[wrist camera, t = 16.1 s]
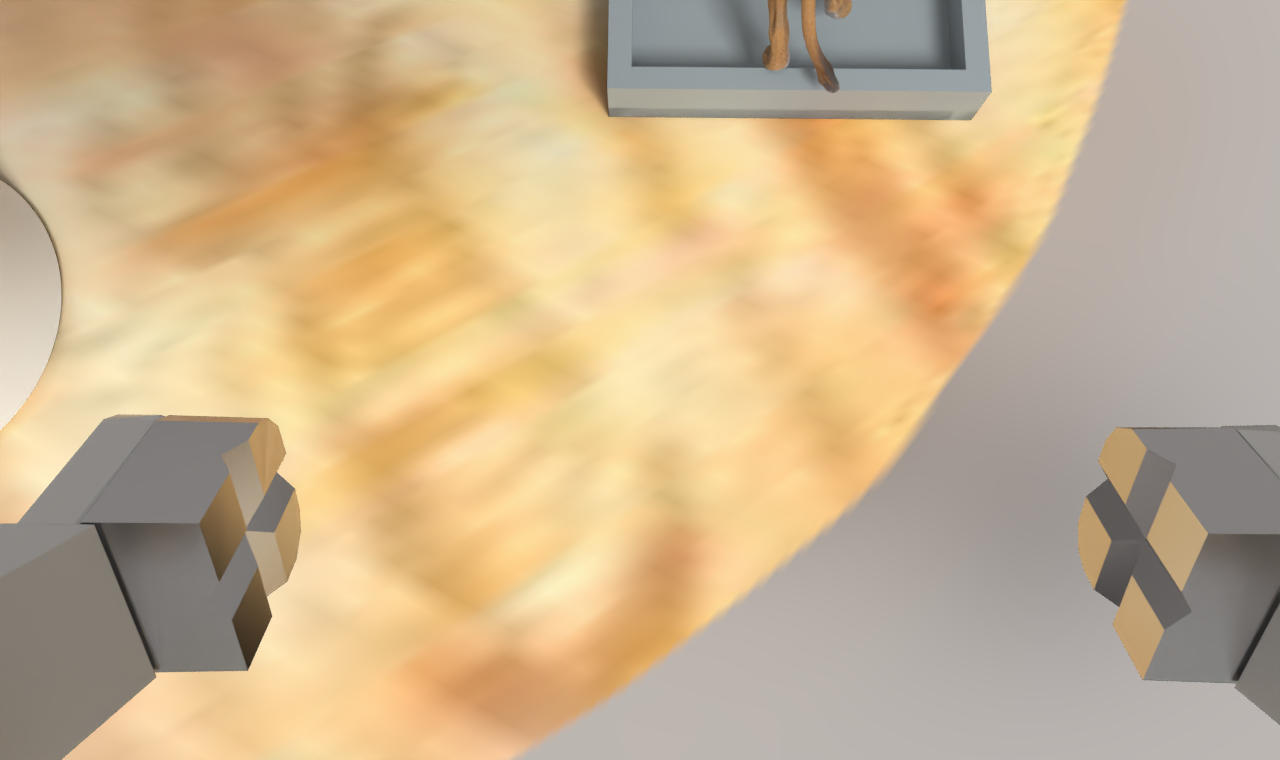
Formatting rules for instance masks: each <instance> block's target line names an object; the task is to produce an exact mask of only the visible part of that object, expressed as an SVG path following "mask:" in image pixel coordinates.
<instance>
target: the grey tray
mask: <svg viewBox="0 0 1280 760" xmlns="http://www.w3.org/2000/svg"><path fill="white" fill-rule="evenodd" d="M851 1H852V8H851V11H850V13H849V14H848V16H846V17H845V18H843V19H833V18H831V17H829V16H827V15H826V14H825V11H824V0H816V6H815V20H816V33H817V39H818V42H819V45H820V48H821V50H822V53H823V54H824V56H825V57H826V59H827V60H828V61H829V62H830V64H831V65H832V67H833V70H834V74H835V76H836V78H837V80H838V82H839V86H840V89H839V91H838V92H836V93H830V92H828V91H826V89H825V88H824V87H823V86H822V85H820V84H819V82H818V76H817V72H816V69H815V66H814V64H813V62H812V60H811V58H810V56H809V53H808V51H807V48H806V44H805V40H804V37H803V31H802V18H801V0H788V1H787V19H788V22H789V33H790V36H789V45H788V49H789V53H790V60H789V64H788V66H787V67H786V68H784V69H782V70H776V71H772V70H768V69H766V68H765V66H764V64H763V60H762V55H763V52H764V51H765V49H766V48H767V46H769V45H770V40H769V34H768V33H769V10H768V1H767V0H609V18H608V73H607V93H608V108H609V117H696V118H802V119H908V120H971V119H972V118H973V117H974V115H975V114H976V113H977V111H978V110H979V109H980V107H981V106H982V104H983V103H984V102H985V100H986V99H987V98H988V96H989V95H990V93H991V92H992V91H991V77H990V62H989V48H988V34H987V20H986V6H985V0H851Z"/></svg>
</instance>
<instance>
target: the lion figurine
mask: <svg viewBox="0 0 1280 760" xmlns="http://www.w3.org/2000/svg"><path fill="white" fill-rule="evenodd" d="M767 1H768V10H769V33H768V34H769V40H770V45H769V46H767V48H766V49H765V51H764V52H763V55H762V60H763V64H764V66H765V68H766V69H768V70H772V71H776V70H782V69H784V68H786V67H787V66H788V64H789V60H790V53H789V49H788V45H789V36H790V33H789V22H788V19H787V1H788V0H767ZM815 6H816V0H801V18H802V31H803V37H804V40H805V44H806V48H807V51H808V53H809V56H810V58H811V60H812V62H813V64H814V66H815V69H816V72H817V76H818V82H819V84H820V85H822V86H823V87H824V88H825V89H826V91H828V92H830V93H836V92H838V91H839V89H840V86H839V82H838V80H837V78H836V76H835V74H834V70H833V67H832V65H831V64H830V62H829V61H828V60H827V59H826V57H825V56H824V54H823V53H822V50H821V48H820V45H819V42H818V39H817V33H816V20H815ZM851 8H852V1H851V0H824V11H825V14H826V15H827V16H829V17H831V18H833V19H843V18H845V17H846V16H848V14H849V13H850V11H851Z"/></svg>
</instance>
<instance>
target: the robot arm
mask: <svg viewBox="0 0 1280 760" xmlns="http://www.w3.org/2000/svg"><path fill="white" fill-rule="evenodd" d="M60 312H61V279H60V271H59V266H58V261H57V257H56V254H55V251H54V247H53V245H52V242H51V240H50V237H49V235H48V233H47V231H46V229H45V227H44V225H43V224H42V222H41V220H40V219H39V217H38V216H37V214H36V213H35V212H34V210H33V209H32V208H31V207H30V205H29V204H28V203H27V202H26V201H25V200H24V199H23V198H22V197H21V196H20V195H19V194H18V193H17V192H16V191H15V190H14V189H12V188H11V187H10V186H9V185H7V184H6V183H4V182H3V181H2V180H0V430H1V429H2V428H3V427H4V426H5V425H6V424H7V423H8V422H9V421H10V420H11V419H12V417H13V416H14V415H15V414H16V413H17V412H18V410H19V409H20V408H21V407H22V405H23V404H24V403H25V401H26V400H27V398H28V397H29V395H30V394H31V392H32V391H33V389H34V388H35V386H36V384H37V382H38V381H39V379H40V377H41V375H42V373H43V371H44V369H45V367H46V365H47V362H48V360H49V357H50V355H51V352H52V349H53V346H54V343H55V339H56V335H57V331H58V326H59V320H60ZM285 454H286V451H285V448H284V444H283V441H282V438H281V434H280V431H279V427H278V426H277V425H276V424H275V423H274V422H272V421H271V420H270V419H268V418H243V417H210V416H178V415H169V416H162V415H115V416H112V417H109V418H106V419H104V420H103V421H102V422H101V423H100V424H99V425H98V427H97V428H96V429H95V430H94V431H93V433H92V434H91V435H90V436H89V437H88V439H87V440H86V441H85V442H84V443H83V445H82V446H81V447H80V448H79V449H78V451H77V452H76V453H75V454H74V455H73V457H72V458H71V459H70V460H69V462H68V463H67V464H66V465H65V466H64V468H63V469H62V470H61V471H60V472H59V474H58V475H57V476H56V477H55V478H54V480H53V481H52V482H51V483H50V484H49V486H48V487H47V488H46V489H45V490H44V492H43V493H42V494H41V495H40V497H39V498H38V499H37V500H36V501H35V503H34V504H33V505H32V506H31V507H30V509H29V510H28V511H27V512H26V513H25V515H24V516H23V517H22V518H21V519H20V521H19V522H18V523H17V524H0V760H61V759H63V758H64V757H65V756H66V755H67V754H68V753H69V752H71V751H72V750H73V749H74V748H75V747H76V746H78V745H79V744H80V743H81V742H82V741H83V740H84V739H86V738H87V737H88V736H89V735H90V734H91V733H93V732H94V731H95V730H96V729H97V728H98V727H99V726H101V725H102V724H103V723H104V722H105V721H106V720H107V719H109V718H110V717H111V716H112V715H113V714H114V713H116V712H117V711H118V710H119V709H120V708H121V707H122V706H124V705H125V704H126V703H127V702H128V701H129V700H131V699H132V698H133V697H134V696H135V695H136V694H137V693H139V692H140V691H141V690H142V689H143V688H144V687H146V686H147V685H148V684H149V683H150V682H151V681H152V680H154V679H155V678H156V674H155V672H202V671H248V669H249V667H250V665H251V663H252V660H253V658H254V656H255V654H256V651H257V649H258V647H259V645H260V642H261V640H262V638H263V636H264V633H265V631H266V629H267V627H268V624H269V622H270V620H271V618H272V614H271V610H270V607H269V603H268V600H267V596H268V595H269V594H271V593H272V592H273V591H275V590H276V589H277V588H279V587H280V586H282V585H283V584H284V583H286V582H287V581H288V578H289V576H290V573H291V571H292V569H293V566H294V564H295V561H296V558H297V552H298V546H299V539H300V533H301V525H300V508H299V504H298V500H297V495H296V491H295V488H294V487H292V486H291V485H290V484H289V483H288V482H287V481H286V480H285V479H284V478H282V477H281V476H280V475H279V474H278V473H277V470H278V468H279V466H280V464H281V462H282V460H283V458H284V456H285ZM1098 461H1099V463H1100V465H1101V467H1102V469H1103V471H1104V473H1105V475H1106V476H1107V478H1108V479H1107V480H1106V481H1105V482H1103V483H1102V484H1101V485H1100V486H1098V487H1097V488H1096V489H1095V490H1093V491H1092V492H1091V493H1090V494H1088V495H1087V496H1086V498H1085V502H1084V505H1083V509H1082V512H1081V515H1080V519H1079V522H1078V539H1079V540H1078V545H1079V546H1078V547H1079V548H1078V549H1079V553H1080V557H1081V561H1082V565H1083V568H1084V571H1085V573H1086V575H1087V577H1088V579H1089V581H1090V583H1091V585H1092V587H1093V589H1094V590H1095V591H1097V592H1098V593H1100V594H1101V595H1102V596H1104V597H1105V598H1107V599H1108V600H1110V601H1111V602H1113V603H1114V604H1115V605H1117V606H1118V607H1119V609H1118V612H1117V614H1116V617H1115V620H1114V622H1113V626H1114V628H1115V630H1116V632H1117V634H1118V635H1119V637H1120V639H1121V641H1122V643H1123V645H1124V647H1125V648H1126V650H1127V652H1128V654H1129V656H1130V658H1131V660H1132V661H1133V663H1134V665H1135V667H1136V669H1137V671H1138V673H1139V674H1140V676H1141V678H1142V680H1155V681H1182V682H1210V683H1236V686H1235V688H1236V689H1237V690H1238V691H1239V692H1241V693H1242V694H1243V695H1244V696H1245V697H1247V698H1248V699H1249V700H1250V701H1251V702H1253V703H1254V704H1255V705H1256V706H1257V707H1259V708H1260V709H1261V710H1262V711H1264V712H1265V713H1266V714H1267V715H1269V716H1270V717H1271V718H1272V719H1273V720H1274V721H1276V722H1277V723H1278V724H1279V725H1280V427H1279V426H1276V425H1254V426H1222V427H1220V428H1115V430H1114V431H1113V432H1112V433H1111V435H1110V436H1109V437H1108V438H1107V439H1106V441H1105V444H1104V447H1103V449H1102V452H1101V455H1100V458H1099V460H1098Z"/></svg>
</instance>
